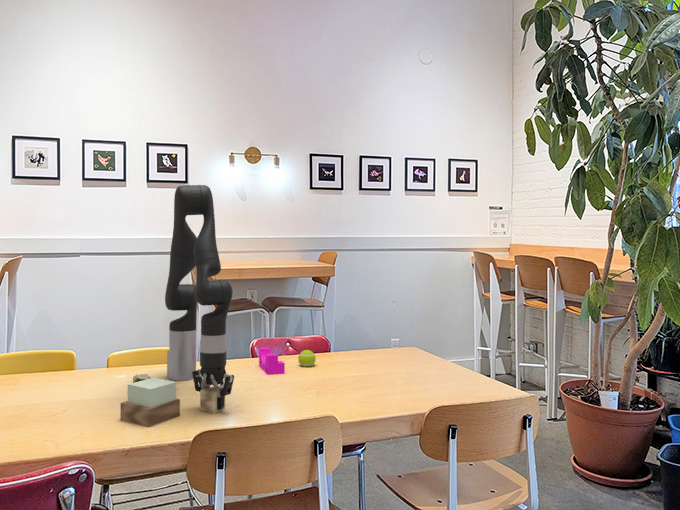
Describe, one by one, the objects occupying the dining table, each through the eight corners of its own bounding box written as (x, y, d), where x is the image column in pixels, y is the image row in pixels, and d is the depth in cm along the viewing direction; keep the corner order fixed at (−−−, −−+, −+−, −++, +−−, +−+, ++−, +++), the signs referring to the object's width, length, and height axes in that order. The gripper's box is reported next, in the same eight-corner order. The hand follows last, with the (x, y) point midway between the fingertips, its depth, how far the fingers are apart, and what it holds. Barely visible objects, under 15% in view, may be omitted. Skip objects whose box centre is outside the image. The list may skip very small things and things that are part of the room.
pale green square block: (127, 402, 157) (127, 384, 157) (153, 394, 165) (153, 377, 164) (150, 407, 152) (150, 389, 152) (176, 399, 160) (176, 382, 160)
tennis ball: (314, 369, 219) (315, 352, 219) (297, 369, 220) (297, 351, 219) (315, 365, 226) (316, 348, 226) (298, 365, 226) (299, 348, 226)
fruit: (142, 406, 172) (140, 381, 170) (122, 400, 176) (120, 375, 175) (166, 395, 179) (164, 371, 178) (146, 390, 184) (144, 366, 183)
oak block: (200, 410, 166) (200, 390, 165) (211, 406, 170) (211, 386, 170) (213, 413, 163) (213, 392, 163) (224, 409, 168) (225, 388, 167)
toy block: (284, 375, 210) (284, 354, 210) (267, 376, 208) (267, 355, 208) (274, 366, 224) (275, 347, 224) (259, 367, 222) (259, 348, 222)
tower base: (120, 421, 156) (120, 403, 156) (151, 410, 166) (151, 393, 166) (149, 428, 151) (150, 409, 151) (179, 416, 161) (179, 399, 161)
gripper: (185, 349, 166) (184, 407, 167) (224, 354, 159) (223, 415, 160) (202, 345, 173) (202, 401, 173) (241, 350, 166) (240, 408, 167)
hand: (212, 407), depth 167 cm, fingers closed on oak block, 5 cm apart
